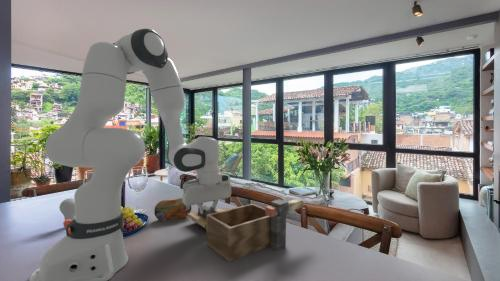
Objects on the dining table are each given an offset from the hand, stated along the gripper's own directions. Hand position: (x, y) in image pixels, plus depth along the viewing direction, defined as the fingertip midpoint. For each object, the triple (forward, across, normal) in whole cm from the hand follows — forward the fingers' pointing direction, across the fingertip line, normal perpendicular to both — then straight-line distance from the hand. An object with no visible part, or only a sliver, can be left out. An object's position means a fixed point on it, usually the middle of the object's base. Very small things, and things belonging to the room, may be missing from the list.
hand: (207, 212), depth 100 cm
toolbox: (+5, +2, -23) cm, 23 cm away
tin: (+6, -8, +16) cm, 19 cm away
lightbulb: (+6, -43, +32) cm, 54 cm away
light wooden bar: (-6, +13, -29) cm, 33 cm away
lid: (+5, +5, -2) cm, 7 cm away
